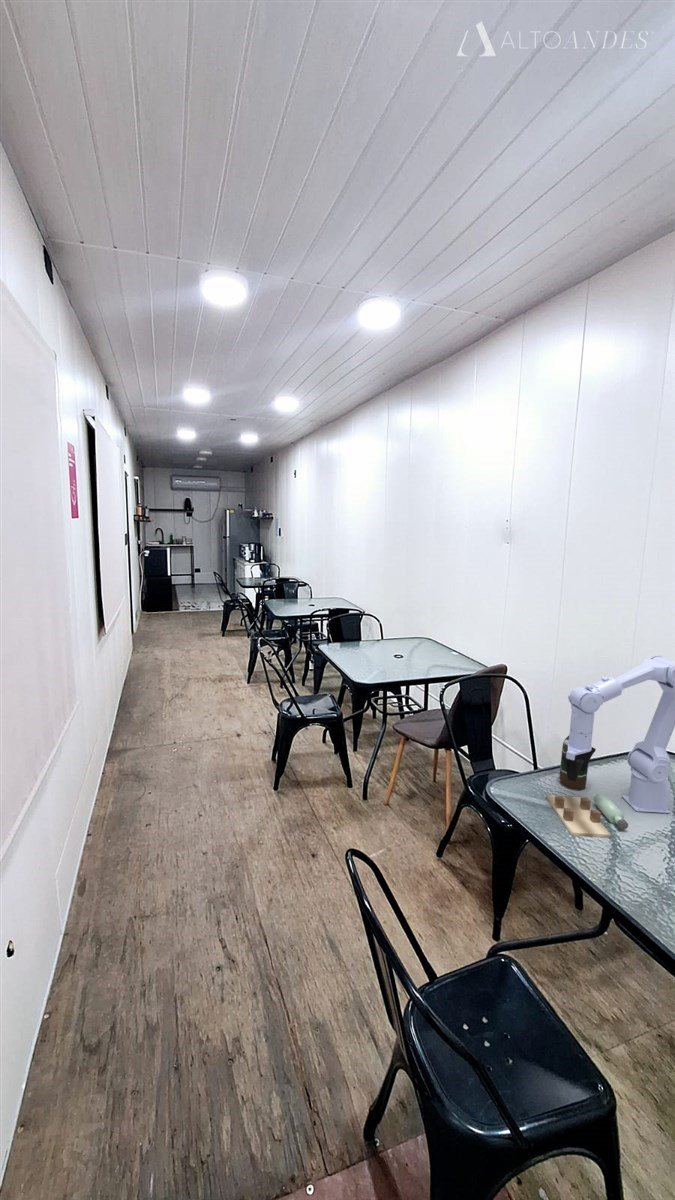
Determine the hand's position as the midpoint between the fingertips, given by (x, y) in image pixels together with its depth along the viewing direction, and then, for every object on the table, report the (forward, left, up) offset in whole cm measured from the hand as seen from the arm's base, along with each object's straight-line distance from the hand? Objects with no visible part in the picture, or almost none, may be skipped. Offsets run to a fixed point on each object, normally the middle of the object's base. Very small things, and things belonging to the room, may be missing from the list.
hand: (576, 775), depth 137 cm
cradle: (+1, +5, -10) cm, 11 cm away
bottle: (-8, +5, -10) cm, 14 cm away
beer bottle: (-5, -13, -10) cm, 17 cm away
